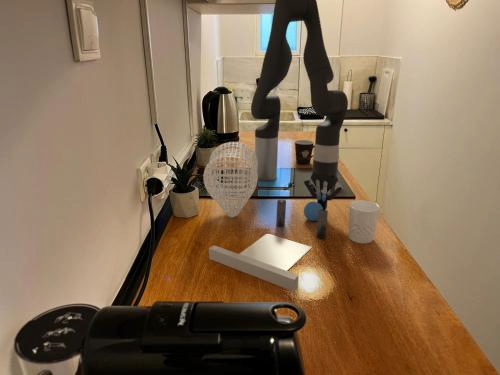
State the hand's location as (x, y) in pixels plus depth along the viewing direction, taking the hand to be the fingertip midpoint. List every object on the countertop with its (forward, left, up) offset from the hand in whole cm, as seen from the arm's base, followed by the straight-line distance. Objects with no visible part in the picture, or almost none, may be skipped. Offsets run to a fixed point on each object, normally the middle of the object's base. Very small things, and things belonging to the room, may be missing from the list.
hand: (321, 210), depth 120 cm
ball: (-1, -4, +1) cm, 5 cm away
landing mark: (-1, -28, -2) cm, 28 cm away
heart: (-23, -17, -2) cm, 28 cm away
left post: (-7, -14, -2) cm, 16 cm away
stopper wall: (-1, -40, -2) cm, 40 cm away
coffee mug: (-30, +50, -2) cm, 58 cm away
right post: (+6, -14, -2) cm, 15 cm away
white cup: (+15, -8, -2) cm, 17 cm away
